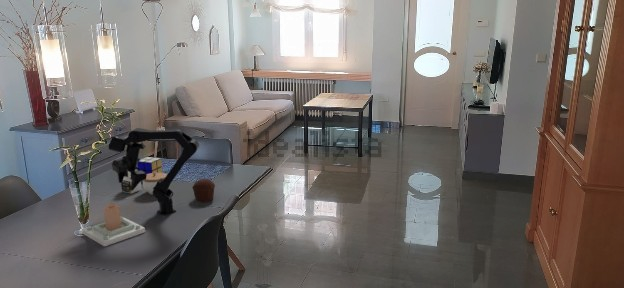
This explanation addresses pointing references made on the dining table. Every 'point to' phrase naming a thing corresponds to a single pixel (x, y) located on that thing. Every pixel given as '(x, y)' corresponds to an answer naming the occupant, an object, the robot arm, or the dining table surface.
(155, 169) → the puzzle cube
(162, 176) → the lidded bowl
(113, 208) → the tall brick
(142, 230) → the base plate
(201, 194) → the muffin
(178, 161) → the robot arm
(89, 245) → the dining table surface
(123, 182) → the medicine bottle
